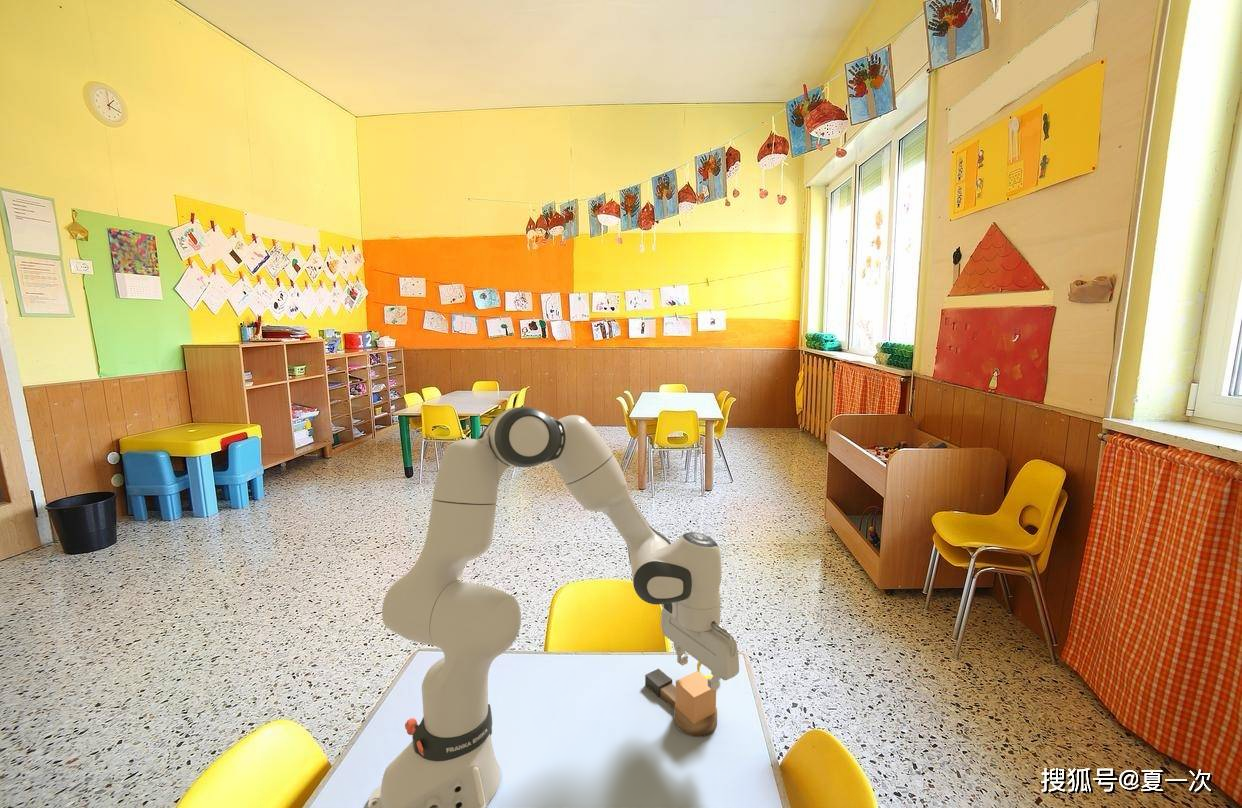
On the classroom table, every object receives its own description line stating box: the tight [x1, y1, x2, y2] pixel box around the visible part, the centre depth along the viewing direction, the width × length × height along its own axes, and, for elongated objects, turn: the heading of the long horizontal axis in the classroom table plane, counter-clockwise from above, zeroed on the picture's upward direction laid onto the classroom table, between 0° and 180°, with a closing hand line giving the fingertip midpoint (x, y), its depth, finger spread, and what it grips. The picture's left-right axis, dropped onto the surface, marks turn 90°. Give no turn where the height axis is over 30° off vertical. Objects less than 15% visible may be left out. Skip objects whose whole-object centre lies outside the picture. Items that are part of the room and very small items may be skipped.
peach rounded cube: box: [675, 670, 717, 724], centre depth 110 cm, size 6×6×6 cm
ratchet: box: [644, 668, 718, 738], centre depth 114 cm, size 9×20×6 cm, turn 35°
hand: (697, 674), depth 108 cm, fingers open, 8 cm apart
